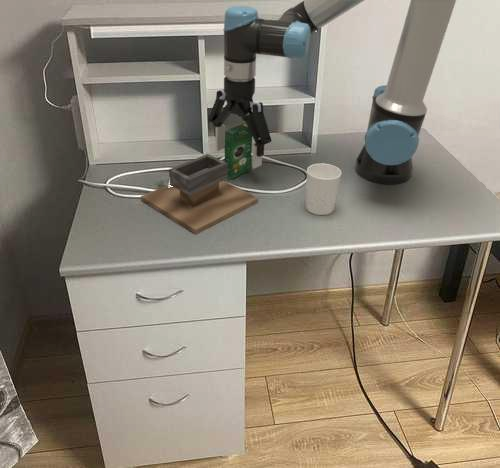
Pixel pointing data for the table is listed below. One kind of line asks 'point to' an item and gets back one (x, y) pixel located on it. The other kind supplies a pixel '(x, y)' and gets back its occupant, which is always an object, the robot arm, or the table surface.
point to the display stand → (199, 194)
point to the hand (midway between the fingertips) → (238, 157)
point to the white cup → (322, 188)
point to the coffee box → (238, 150)
